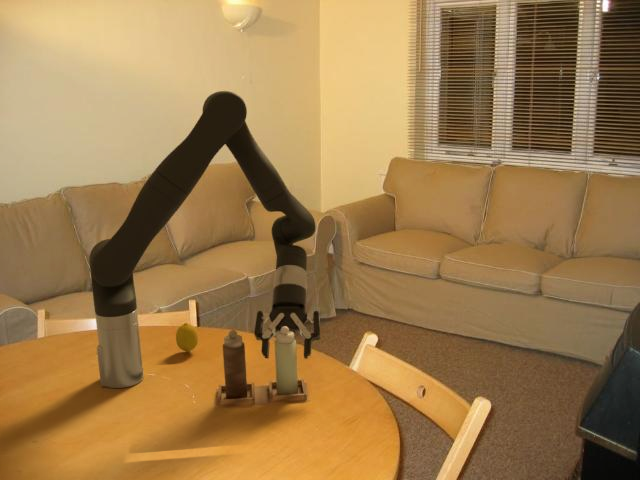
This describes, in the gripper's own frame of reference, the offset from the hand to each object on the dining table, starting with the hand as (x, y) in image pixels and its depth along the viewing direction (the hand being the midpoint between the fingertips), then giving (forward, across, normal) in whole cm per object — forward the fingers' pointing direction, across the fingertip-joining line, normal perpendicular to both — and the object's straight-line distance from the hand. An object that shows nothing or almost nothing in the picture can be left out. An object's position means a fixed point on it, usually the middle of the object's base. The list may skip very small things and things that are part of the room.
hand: (286, 357), depth 156 cm
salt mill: (+6, 0, +6) cm, 8 cm away
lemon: (-11, -28, +24) cm, 39 cm away
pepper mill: (+7, -11, +4) cm, 14 cm away
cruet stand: (+7, -5, +6) cm, 11 cm away
